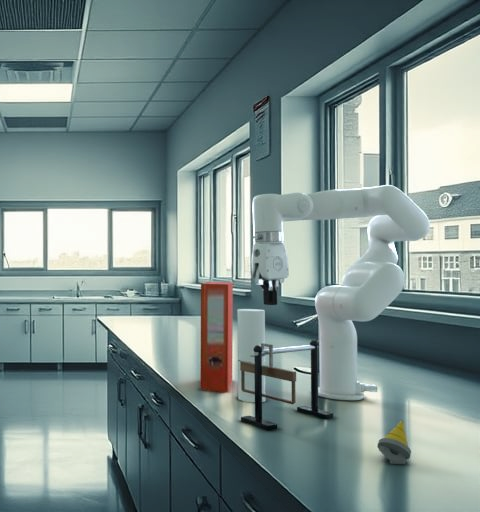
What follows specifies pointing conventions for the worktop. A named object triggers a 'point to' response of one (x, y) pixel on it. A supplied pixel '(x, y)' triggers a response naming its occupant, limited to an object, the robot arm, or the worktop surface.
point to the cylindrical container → (250, 347)
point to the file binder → (216, 336)
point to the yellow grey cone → (395, 445)
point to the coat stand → (312, 410)
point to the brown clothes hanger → (269, 375)
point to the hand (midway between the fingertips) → (270, 304)
